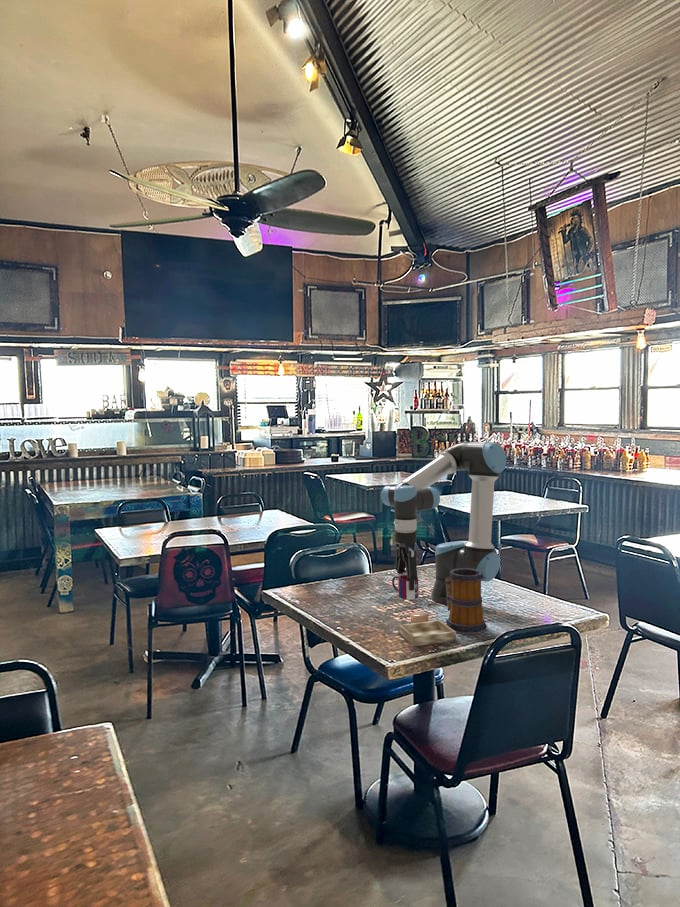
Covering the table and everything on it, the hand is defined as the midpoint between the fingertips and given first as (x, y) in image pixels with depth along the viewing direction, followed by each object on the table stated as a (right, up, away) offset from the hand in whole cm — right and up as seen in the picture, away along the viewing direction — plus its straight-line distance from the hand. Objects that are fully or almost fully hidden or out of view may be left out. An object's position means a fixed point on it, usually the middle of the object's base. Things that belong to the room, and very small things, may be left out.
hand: (406, 595), depth 220 cm
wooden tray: (+7, -13, -4) cm, 15 cm away
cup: (0, 0, +1) cm, 1 cm away
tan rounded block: (+6, -13, +10) cm, 17 cm away
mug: (+21, -13, +8) cm, 26 cm away
